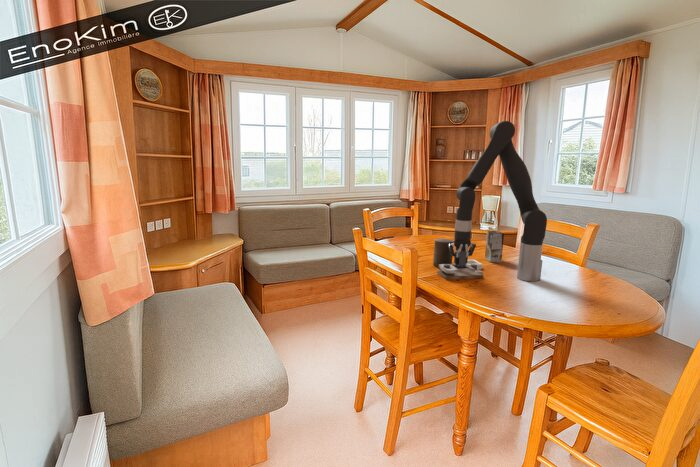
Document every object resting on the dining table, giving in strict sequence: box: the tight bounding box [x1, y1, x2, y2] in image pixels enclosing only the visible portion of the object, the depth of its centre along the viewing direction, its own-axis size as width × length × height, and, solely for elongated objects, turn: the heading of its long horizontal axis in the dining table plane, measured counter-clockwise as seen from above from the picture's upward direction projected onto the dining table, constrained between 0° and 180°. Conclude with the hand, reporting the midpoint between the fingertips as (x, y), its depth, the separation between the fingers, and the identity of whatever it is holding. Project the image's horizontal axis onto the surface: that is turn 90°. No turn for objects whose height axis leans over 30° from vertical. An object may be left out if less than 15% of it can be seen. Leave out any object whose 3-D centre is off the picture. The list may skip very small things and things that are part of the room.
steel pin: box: [454, 250, 467, 269], centre depth 179 cm, size 4×4×10 cm
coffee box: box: [484, 230, 505, 263], centre depth 206 cm, size 9×6×16 cm
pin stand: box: [466, 259, 483, 270], centre depth 194 cm, size 9×9×2 cm
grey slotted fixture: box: [436, 263, 484, 281], centre depth 180 cm, size 19×10×6 cm, turn 100°
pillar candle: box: [432, 238, 454, 268], centre depth 195 cm, size 10×10×15 cm
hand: (460, 264), depth 179 cm, fingers closed on steel pin, 3 cm apart
